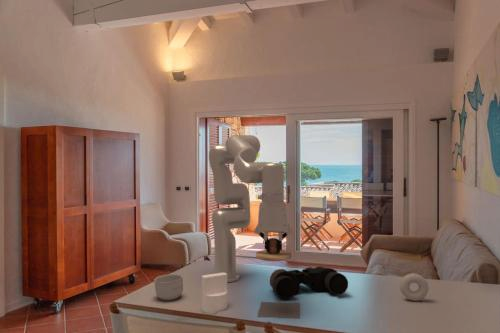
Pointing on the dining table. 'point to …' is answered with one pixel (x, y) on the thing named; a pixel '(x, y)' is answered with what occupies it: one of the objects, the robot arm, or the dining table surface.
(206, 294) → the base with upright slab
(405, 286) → the donut
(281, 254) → the oak lid
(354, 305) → the dining table surface
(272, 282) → the binoculars
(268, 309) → the rubber mat
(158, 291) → the teacup
